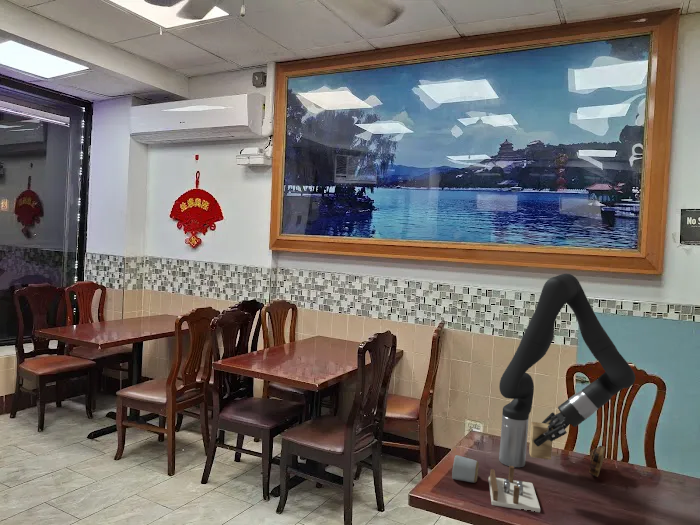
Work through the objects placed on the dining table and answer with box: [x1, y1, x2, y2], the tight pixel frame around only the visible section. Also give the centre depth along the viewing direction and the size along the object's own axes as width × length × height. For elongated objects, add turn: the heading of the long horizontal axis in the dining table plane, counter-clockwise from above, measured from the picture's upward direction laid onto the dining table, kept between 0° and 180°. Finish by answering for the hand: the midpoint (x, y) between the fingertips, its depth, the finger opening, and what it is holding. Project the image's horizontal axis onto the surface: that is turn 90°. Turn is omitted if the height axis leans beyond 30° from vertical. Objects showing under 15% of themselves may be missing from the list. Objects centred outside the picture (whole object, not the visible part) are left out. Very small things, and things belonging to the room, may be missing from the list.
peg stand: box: [488, 476, 541, 513], centre depth 164 cm, size 14×17×1 cm
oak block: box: [528, 421, 553, 461], centre depth 163 cm, size 6×4×10 cm, turn 79°
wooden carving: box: [588, 445, 606, 478], centre depth 183 cm, size 16×5×10 cm, turn 152°
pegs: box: [503, 478, 523, 496], centre depth 164 cm, size 6×4×3 cm
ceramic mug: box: [451, 454, 480, 484], centre depth 174 cm, size 11×8×8 cm
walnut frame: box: [489, 466, 519, 504], centre depth 164 cm, size 7×16×5 cm, turn 168°
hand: (534, 440), depth 164 cm, fingers closed on oak block, 4 cm apart
